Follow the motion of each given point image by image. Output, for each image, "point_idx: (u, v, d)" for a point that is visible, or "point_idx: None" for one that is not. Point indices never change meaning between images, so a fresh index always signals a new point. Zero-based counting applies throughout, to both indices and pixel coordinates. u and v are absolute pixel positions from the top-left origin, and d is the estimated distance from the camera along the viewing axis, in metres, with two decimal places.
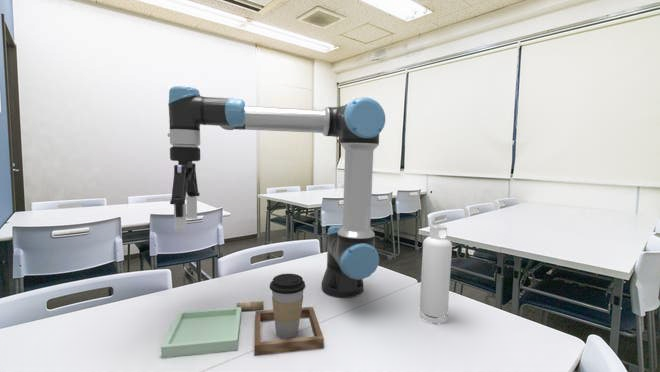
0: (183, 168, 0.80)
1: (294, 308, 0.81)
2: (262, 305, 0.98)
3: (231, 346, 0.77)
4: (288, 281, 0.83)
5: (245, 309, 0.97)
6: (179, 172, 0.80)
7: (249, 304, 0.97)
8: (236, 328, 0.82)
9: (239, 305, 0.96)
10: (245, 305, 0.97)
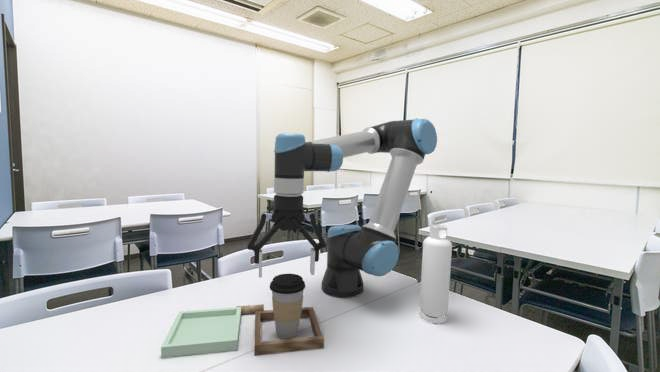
0: (261, 216, 0.80)
1: (294, 308, 0.81)
2: None
3: (231, 346, 0.77)
4: (288, 281, 0.83)
5: None
6: (261, 220, 0.81)
7: (249, 313, 0.95)
8: (236, 328, 0.82)
9: None
10: None
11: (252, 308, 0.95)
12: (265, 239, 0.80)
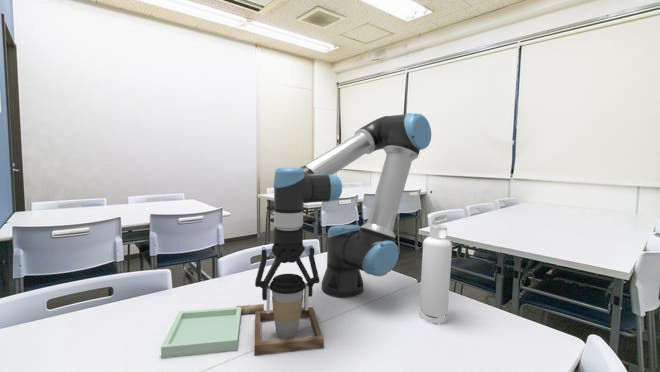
0: None
1: (294, 308, 0.81)
2: None
3: (231, 346, 0.77)
4: (288, 281, 0.83)
5: None
6: None
7: (249, 313, 0.95)
8: (236, 328, 0.82)
9: None
10: (245, 313, 0.95)
11: (252, 307, 0.95)
12: (270, 275, 0.82)
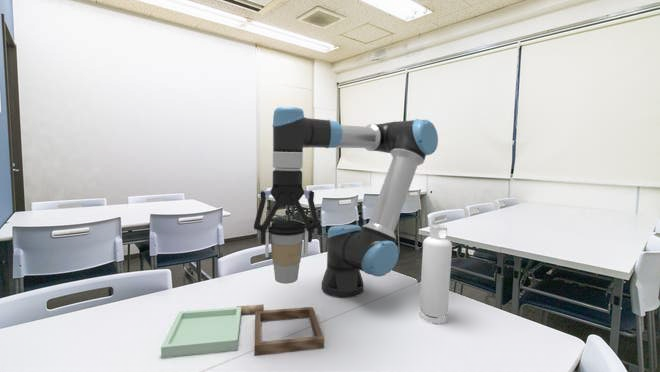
0: (260, 195, 0.79)
1: (293, 251, 0.80)
2: None
3: (231, 346, 0.77)
4: (287, 225, 0.81)
5: None
6: None
7: (249, 313, 0.95)
8: (236, 328, 0.82)
9: None
10: None
11: (252, 308, 0.95)
12: (269, 217, 0.80)
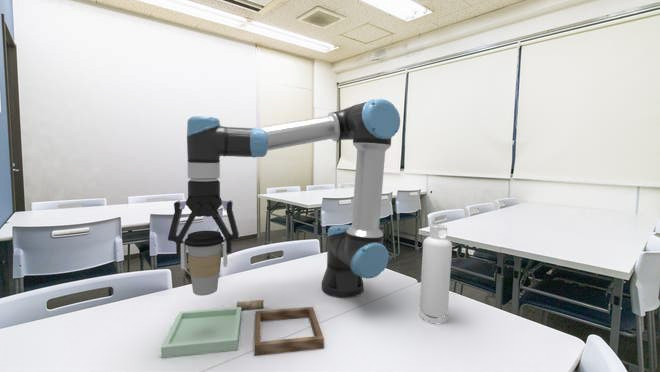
0: None
1: (208, 263, 0.79)
2: (262, 302, 0.99)
3: (231, 346, 0.77)
4: (204, 236, 0.80)
5: (245, 306, 0.97)
6: None
7: (249, 301, 0.98)
8: (236, 328, 0.82)
9: (239, 302, 0.98)
10: (245, 302, 0.98)
11: None
12: (184, 228, 0.79)
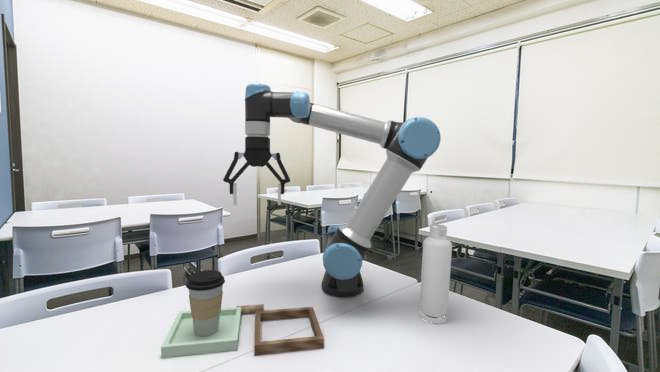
0: None
1: (209, 305, 0.80)
2: None
3: (231, 346, 0.77)
4: (205, 278, 0.81)
5: None
6: None
7: (249, 313, 0.95)
8: (236, 328, 0.82)
9: None
10: None
11: (252, 308, 0.95)
12: (238, 173, 0.97)
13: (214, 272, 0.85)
